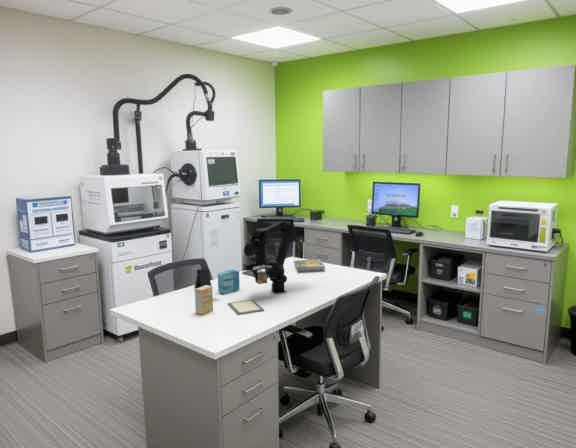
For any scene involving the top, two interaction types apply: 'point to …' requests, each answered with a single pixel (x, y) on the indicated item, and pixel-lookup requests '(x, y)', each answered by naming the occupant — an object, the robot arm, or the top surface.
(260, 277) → the walnut cube
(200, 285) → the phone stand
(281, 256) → the robot arm
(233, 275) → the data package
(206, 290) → the supplement box
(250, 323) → the top surface
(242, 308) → the slate pad
